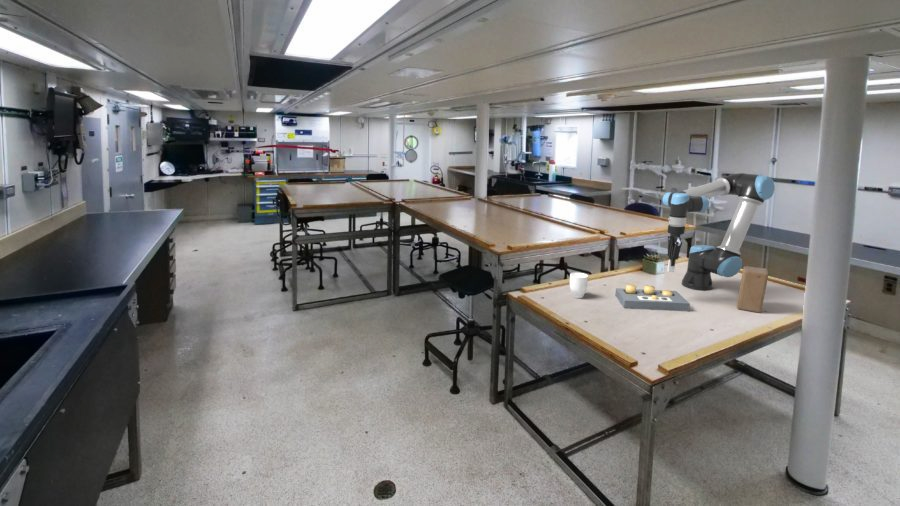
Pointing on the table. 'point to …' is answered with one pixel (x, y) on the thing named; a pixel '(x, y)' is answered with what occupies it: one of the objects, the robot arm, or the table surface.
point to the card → (654, 298)
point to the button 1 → (630, 289)
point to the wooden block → (752, 289)
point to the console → (634, 302)
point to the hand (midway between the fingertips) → (670, 271)
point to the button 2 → (667, 293)
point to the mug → (578, 284)
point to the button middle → (649, 290)
